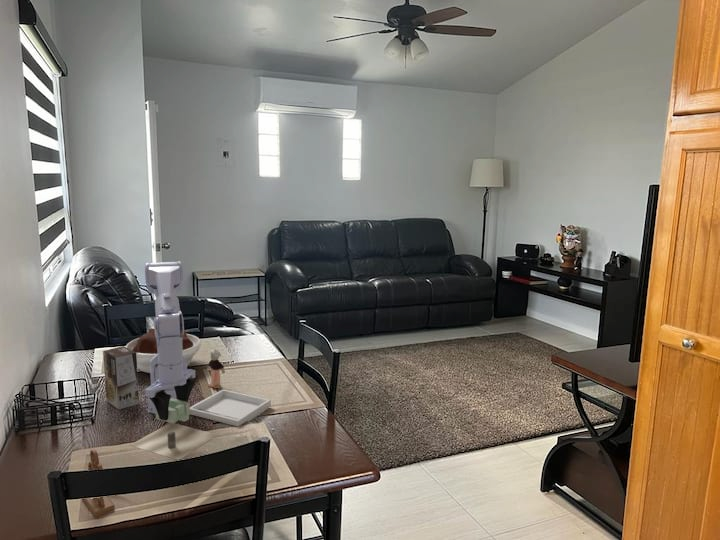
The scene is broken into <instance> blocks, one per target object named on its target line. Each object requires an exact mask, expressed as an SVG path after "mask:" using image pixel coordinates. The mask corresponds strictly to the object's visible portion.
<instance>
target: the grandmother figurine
mask: <svg viewBox="0 0 720 540" xmlns="http://www.w3.org/2000/svg"><path fill="white" fill-rule="evenodd" d="M209 354H210V359H211V360H209V362H208V364H207V370H210V374H211V375H210V383H209V384H208V385H207V387H208V388H213V389H214V388H219V387H220V386H222V384H221V374H225V373H226V371H225V366H224V365H223V363H222V362H221V361H220V360H219V358H220V357H222V353H221V352H220V351H219V350H218V349H211V350H210V351H209ZM220 371H221V373H220ZM220 388H221V387H220ZM220 388H219V389H220Z"/></svg>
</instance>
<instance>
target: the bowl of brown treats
mask: <svg viewBox="0 0 720 540" xmlns="http://www.w3.org/2000/svg"><path fill="white" fill-rule="evenodd" d="M180 335H181V336H182V333H181V332H180ZM201 342H202V341H201V339H200V338H199V337H198V336H196V335H194V334H189V333H187V331H186V330H185V329H184V334H183V336H182V348H183V354H184V355H185V357H186V363H187V367H189V365H191V363H192V361H193V358H194V356H195V355H196V354H197V352H198V351H199V350H200V348H201V346H202V343H201ZM125 347H126V348H128V349H130V350H132V351H134V352H136V357H137V370H139V371H141V372H144V373H147V374H150V361H151V358H152V357H154V356H155V355H156V354H157V353H158V350H157V347H158V346H157V342H156V337H155V327H154V328H149V329H148V333H143V334H142V335H141V336H140V337H138V338H135V339H133V340H130V342H128V343H126V345H125ZM157 364H158V363H157ZM154 371H155V366H154Z"/></svg>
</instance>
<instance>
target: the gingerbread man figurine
mask: <svg viewBox="0 0 720 540" xmlns="http://www.w3.org/2000/svg"><path fill="white" fill-rule="evenodd" d="M89 452H90V453H89V456H90V461H89V462H88V464H87V467H88V469H87V470H100V469H103V468H104V467H103V465H102V463H100V459H99V458H100V457H99V455H98V451H97V450H96V449H95V448H94V449H91V450H90V451H89ZM103 470H104V469H103ZM82 501H83V502H84V504H85V505H86V506H87V509H88V510H89V512H90V513H91V514H92V515H93V517H94V518H97V517H101V516H103V515H104V514H107V513H110V512H112V511H115V507H116V506H115V504H114V503H113V502H112V500H111V499H110V497H109V496H108V497H100V498H93V499H84V500H83V499H82Z"/></svg>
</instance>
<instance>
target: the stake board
mask: <svg viewBox="0 0 720 540" xmlns="http://www.w3.org/2000/svg"><path fill="white" fill-rule="evenodd" d="M215 437H218V434H216V433H213V432H209V431H205V430H201V429H198V428H194V427H190V426H186V425H182V424H180V423H177V422H175V423H174V424H173V423H169V422H168V423H167V424H166V425H164V426H162V427H160V428H158V429H157V430H155V431H153V432H151V433H149V434H147V435H144V437H142V438H140V439H138V440H137V441H135V442H132V443H131V444H129V446H131V447H133V448H134V447H135V448H137V449H141V450H144V451H147V452H150V453H154V454H157V455H159V456H164V457H165V458H166V457H167V458H170V459H174V460H177V461H180V460H182V459H183V458H184V457H186V456H189V454H191V453H193V452H194V451H196V449H198V448H200V447H202V446H203V445H204V444H206V443H208V442H209V441H211V440H212V439H214V438H215ZM179 458H180V460H179Z"/></svg>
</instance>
